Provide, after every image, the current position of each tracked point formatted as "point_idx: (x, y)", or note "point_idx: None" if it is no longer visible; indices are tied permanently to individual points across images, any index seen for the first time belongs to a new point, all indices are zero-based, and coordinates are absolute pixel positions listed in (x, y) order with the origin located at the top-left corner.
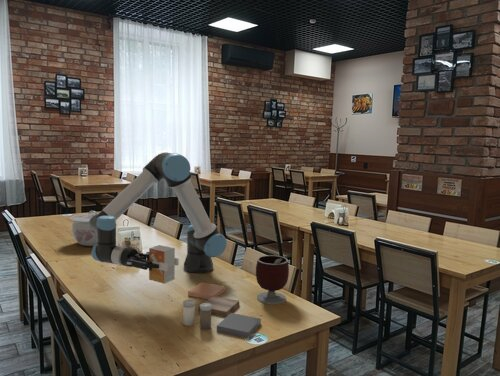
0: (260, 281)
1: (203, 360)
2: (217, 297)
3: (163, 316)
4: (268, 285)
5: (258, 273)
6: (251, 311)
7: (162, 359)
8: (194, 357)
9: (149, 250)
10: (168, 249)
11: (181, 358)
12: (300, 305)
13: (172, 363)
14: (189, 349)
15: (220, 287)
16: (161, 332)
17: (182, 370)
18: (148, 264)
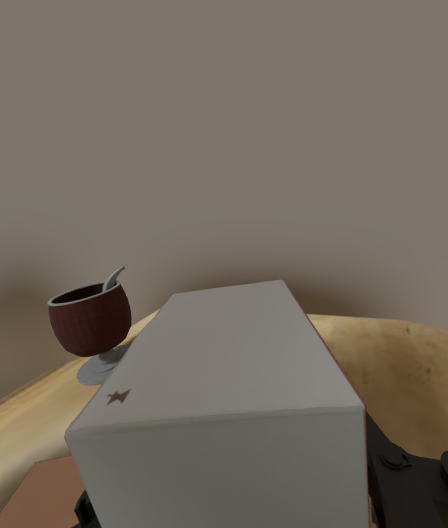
0: (120, 328)
1: (361, 321)
2: None
3: None
4: (130, 323)
5: (112, 317)
6: None
7: (436, 348)
8: (371, 329)
9: (363, 430)
10: (225, 289)
11: (395, 336)
12: (136, 331)
13: (417, 335)
14: (367, 343)
15: (44, 471)
16: (406, 422)
17: (405, 321)
18: (424, 459)
